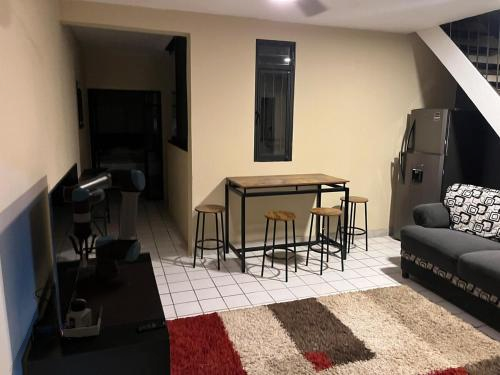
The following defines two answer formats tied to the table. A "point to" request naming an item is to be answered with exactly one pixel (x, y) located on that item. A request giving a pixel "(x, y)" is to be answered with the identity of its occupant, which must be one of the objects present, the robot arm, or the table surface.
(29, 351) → the table surface
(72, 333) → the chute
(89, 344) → the table surface
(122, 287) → the table surface
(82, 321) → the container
